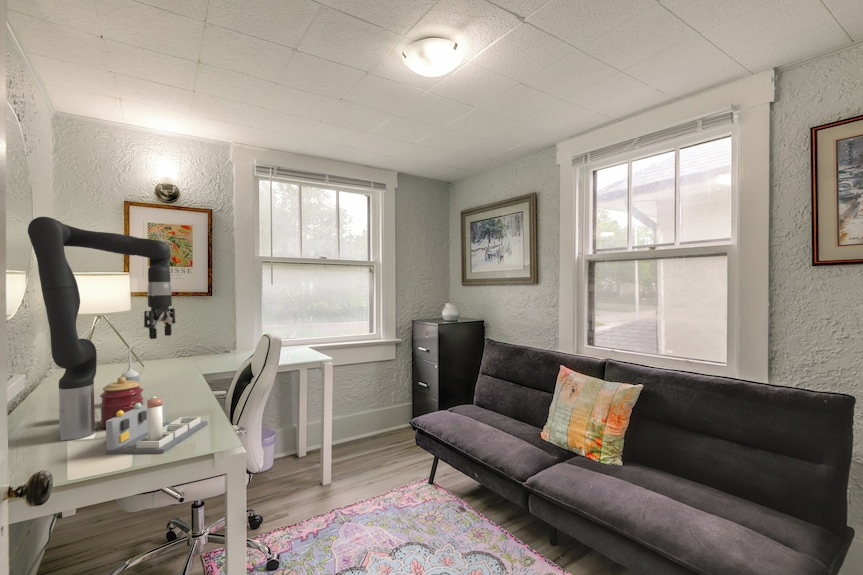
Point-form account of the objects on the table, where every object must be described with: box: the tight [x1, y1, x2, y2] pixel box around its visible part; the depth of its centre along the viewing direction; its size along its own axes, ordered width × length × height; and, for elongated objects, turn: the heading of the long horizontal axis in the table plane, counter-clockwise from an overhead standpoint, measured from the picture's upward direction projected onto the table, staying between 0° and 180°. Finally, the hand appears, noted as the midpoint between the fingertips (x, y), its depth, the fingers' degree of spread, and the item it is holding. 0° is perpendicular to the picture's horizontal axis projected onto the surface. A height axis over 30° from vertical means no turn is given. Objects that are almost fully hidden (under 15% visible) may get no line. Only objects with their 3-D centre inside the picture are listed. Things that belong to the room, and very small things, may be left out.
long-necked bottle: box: [120, 346, 141, 388], centre depth 179 cm, size 8×8×25 cm
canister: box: [99, 376, 144, 429], centre depth 154 cm, size 13×13×18 cm
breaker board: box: [104, 395, 209, 455], centre depth 139 cm, size 25×18×12 cm
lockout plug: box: [146, 397, 163, 441], centre depth 131 cm, size 4×4×14 cm
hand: (160, 337), depth 155 cm, fingers open, 8 cm apart
